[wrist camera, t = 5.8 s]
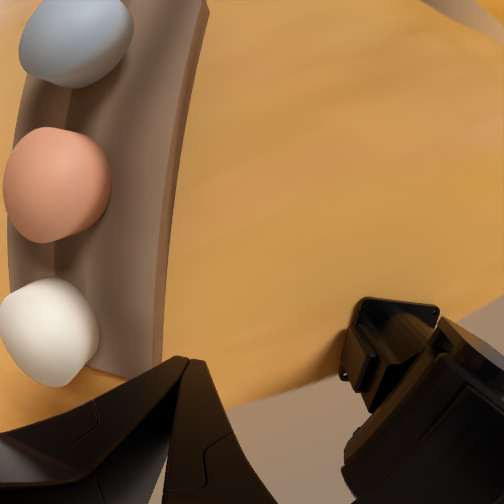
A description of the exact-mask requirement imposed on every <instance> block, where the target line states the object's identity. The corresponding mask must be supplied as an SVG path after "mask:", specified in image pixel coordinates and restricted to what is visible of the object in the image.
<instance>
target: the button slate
mask: <svg viewBox="0 0 504 504" xmlns="http://www.w3.org/2000/svg"><path fill="white" fill-rule="evenodd" d="M133 31H134V22H133V17H132V15H131V13H130V11H129V10H128V9H127V8H126V6H125V5H124V4H123V3H122V2H121V0H44V1H43V2H42V3H41V4H40V6H39V7H38V8H37V9H36V10H35V12H34V13H33V14H32V16H31V17H30V19H29V21H28V22H27V24H26V26H25V28H24V31H23V33H22V36H21V39H20V44H19V59H20V63H21V66H22V67H23V69H24V70H25V71H26V72H27V73H29V74H30V75H33V76H35V77H38V78H41V79H43V80H46V81H48V82H51V83H53V84H56V85H58V86H61V87H64V88H68V89H77V88H82V87H86V86H88V85H91V84H93V83H95V82H96V81H98V80H100V79H101V78H103V77H104V76H105V75H107V74H108V73H109V72H110V71H111V70H112V69H113V68H114V67H115V66H116V65H117V64H118V63H119V61H120V60H121V59H122V57H123V56H124V54H125V53H126V51H127V49H128V47H129V45H130V42H131V40H132V36H133Z"/></svg>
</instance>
